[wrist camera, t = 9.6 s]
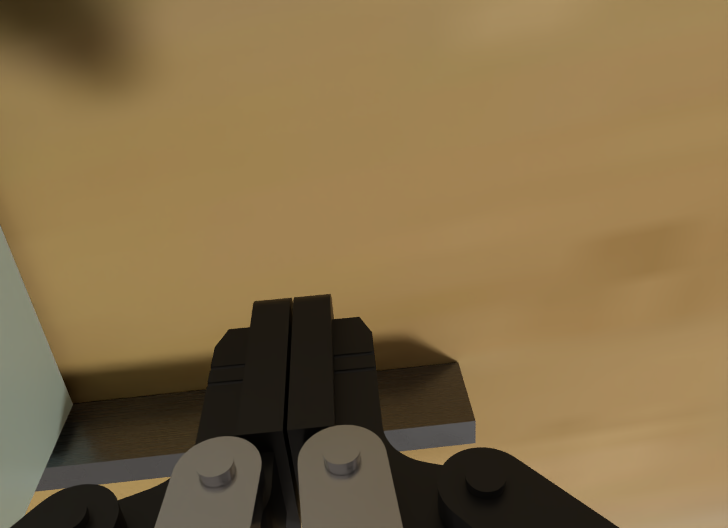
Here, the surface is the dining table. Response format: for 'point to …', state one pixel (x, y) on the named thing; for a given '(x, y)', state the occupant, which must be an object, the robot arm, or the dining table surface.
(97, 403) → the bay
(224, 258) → the dining table surface
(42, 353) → the crate
